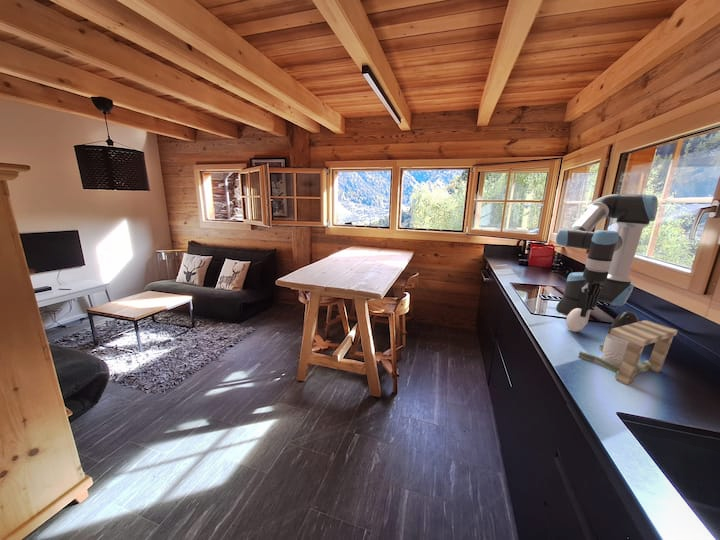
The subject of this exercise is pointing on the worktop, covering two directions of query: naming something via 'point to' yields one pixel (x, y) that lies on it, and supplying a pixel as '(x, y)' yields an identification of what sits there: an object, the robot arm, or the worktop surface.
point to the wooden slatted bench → (637, 349)
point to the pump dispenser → (623, 320)
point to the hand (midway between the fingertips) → (582, 323)
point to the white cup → (614, 349)
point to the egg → (574, 320)
